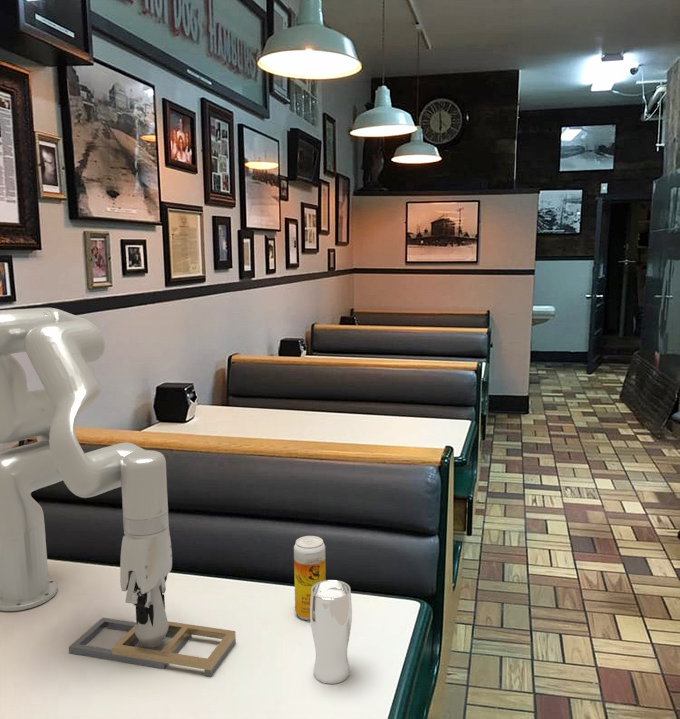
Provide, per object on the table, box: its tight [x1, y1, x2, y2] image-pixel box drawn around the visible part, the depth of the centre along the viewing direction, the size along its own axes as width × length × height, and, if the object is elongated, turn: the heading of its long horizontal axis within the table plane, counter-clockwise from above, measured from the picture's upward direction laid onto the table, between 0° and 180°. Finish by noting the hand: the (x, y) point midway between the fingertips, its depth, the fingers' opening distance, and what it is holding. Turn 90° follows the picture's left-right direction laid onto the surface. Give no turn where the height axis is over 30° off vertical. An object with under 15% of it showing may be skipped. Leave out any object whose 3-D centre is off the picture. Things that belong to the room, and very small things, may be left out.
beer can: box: [293, 535, 327, 621], centre depth 126 cm, size 6×6×15 cm
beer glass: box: [309, 579, 353, 685], centre depth 107 cm, size 7×7×15 cm
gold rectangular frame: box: [111, 620, 237, 678], centre depth 114 cm, size 19×10×2 cm, turn 75°
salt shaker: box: [135, 578, 169, 649], centre depth 115 cm, size 6×6×13 cm
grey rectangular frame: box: [68, 617, 193, 670], centre depth 117 cm, size 19×10×1 cm, turn 75°
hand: (151, 619), depth 115 cm, fingers closed on salt shaker, 3 cm apart
